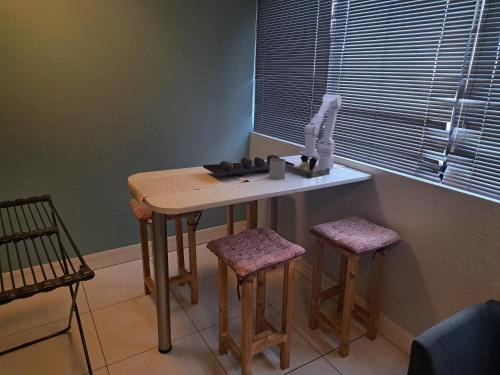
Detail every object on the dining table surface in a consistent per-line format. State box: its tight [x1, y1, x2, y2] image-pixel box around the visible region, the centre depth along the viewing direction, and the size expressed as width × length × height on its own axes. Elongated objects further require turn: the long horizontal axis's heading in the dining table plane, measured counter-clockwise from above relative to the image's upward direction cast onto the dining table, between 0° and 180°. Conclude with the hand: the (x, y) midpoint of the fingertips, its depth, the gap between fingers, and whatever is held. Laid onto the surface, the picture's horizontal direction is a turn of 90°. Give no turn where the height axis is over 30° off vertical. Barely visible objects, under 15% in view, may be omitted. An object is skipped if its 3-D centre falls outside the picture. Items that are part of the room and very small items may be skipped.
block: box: [299, 161, 318, 171], centre depth 197 cm, size 4×9×5 cm, turn 128°
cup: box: [268, 157, 286, 181], centre depth 188 cm, size 8×8×10 cm
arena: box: [285, 163, 331, 179], centre depth 201 cm, size 17×23×4 cm
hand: (308, 169), depth 197 cm, fingers closed on block, 4 cm apart
